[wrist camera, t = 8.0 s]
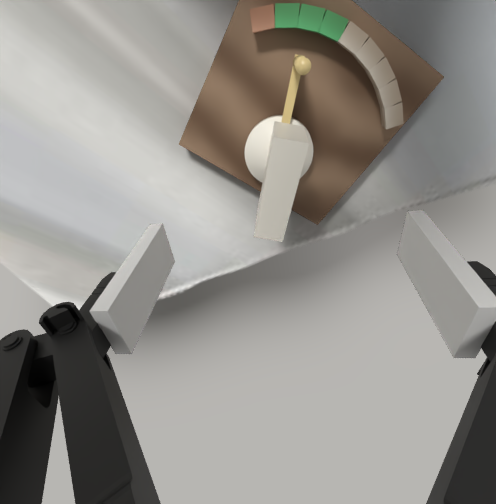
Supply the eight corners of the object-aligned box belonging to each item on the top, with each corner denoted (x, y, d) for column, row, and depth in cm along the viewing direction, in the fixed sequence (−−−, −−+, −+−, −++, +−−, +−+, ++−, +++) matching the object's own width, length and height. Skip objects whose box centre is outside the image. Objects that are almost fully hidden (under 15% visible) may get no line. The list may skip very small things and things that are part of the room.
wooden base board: (268, -62, 23) (267, -76, 20) (434, 75, 27) (452, 78, 25) (183, 139, 33) (174, 148, 30) (315, 217, 37) (319, 231, 34)
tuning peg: (240, 181, 33) (226, 232, 24) (259, 47, 25) (249, 48, 17) (301, 192, 33) (309, 246, 24) (338, 62, 26) (369, 71, 17)
